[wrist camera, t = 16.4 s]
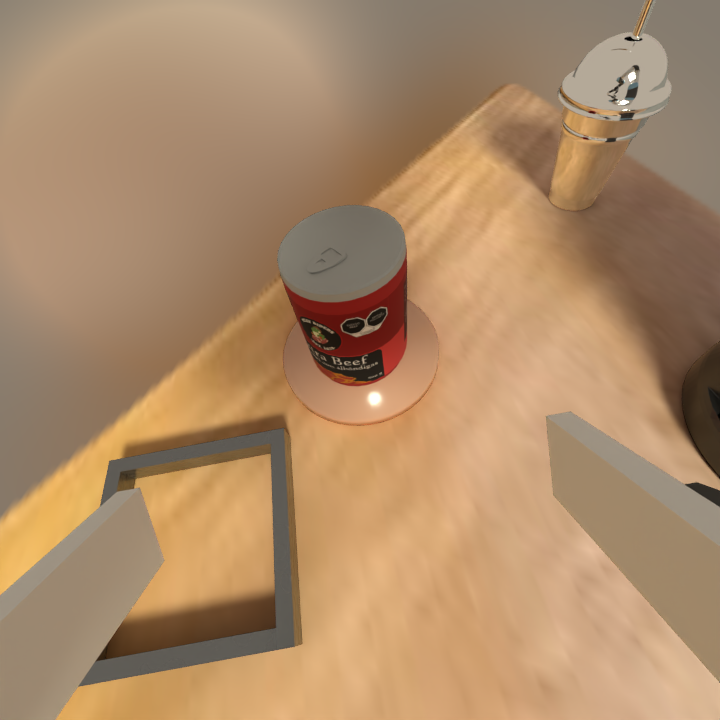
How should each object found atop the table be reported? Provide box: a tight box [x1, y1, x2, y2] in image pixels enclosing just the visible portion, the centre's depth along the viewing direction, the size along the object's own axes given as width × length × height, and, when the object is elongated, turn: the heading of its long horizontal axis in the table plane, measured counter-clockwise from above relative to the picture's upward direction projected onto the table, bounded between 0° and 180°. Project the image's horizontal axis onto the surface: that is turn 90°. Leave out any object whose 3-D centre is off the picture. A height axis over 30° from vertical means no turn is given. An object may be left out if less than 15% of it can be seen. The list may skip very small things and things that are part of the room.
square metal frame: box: [78, 428, 302, 687], centre depth 26 cm, size 13×13×2 cm
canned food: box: [277, 205, 407, 386], centre depth 28 cm, size 8×8×11 cm
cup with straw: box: [548, 0, 672, 211], centre depth 33 cm, size 8×9×20 cm
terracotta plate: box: [283, 300, 439, 426], centre depth 33 cm, size 13×13×1 cm
